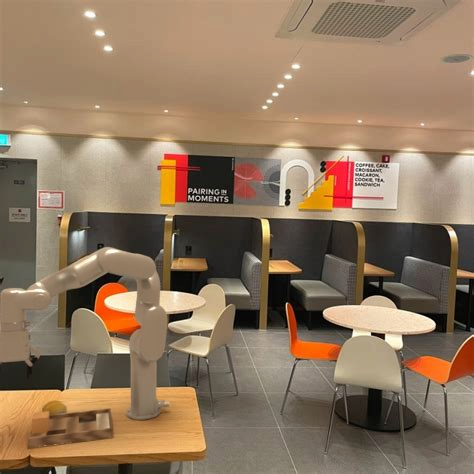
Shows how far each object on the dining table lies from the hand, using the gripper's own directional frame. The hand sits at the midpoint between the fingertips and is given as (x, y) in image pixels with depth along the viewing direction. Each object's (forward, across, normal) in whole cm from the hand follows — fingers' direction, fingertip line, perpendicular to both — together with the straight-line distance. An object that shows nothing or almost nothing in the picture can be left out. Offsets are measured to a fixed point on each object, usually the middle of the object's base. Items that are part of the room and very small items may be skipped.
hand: (13, 378), depth 154 cm
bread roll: (+21, -11, -18) cm, 30 cm away
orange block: (+18, -8, 0) cm, 20 cm away
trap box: (+20, -18, 0) cm, 27 cm away
